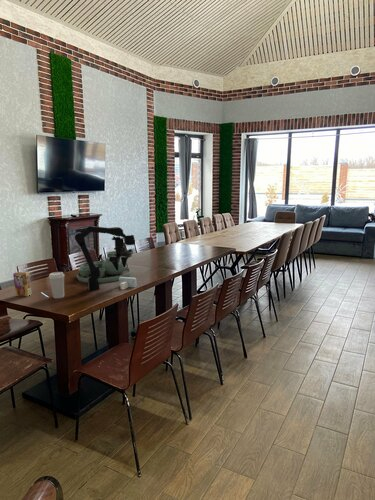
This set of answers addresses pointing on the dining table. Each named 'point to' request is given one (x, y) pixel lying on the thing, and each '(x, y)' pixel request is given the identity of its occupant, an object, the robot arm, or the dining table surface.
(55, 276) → the coffee cup
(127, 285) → the slotted rib
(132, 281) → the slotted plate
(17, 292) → the candy box
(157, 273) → the dining table surface
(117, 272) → the tea set
